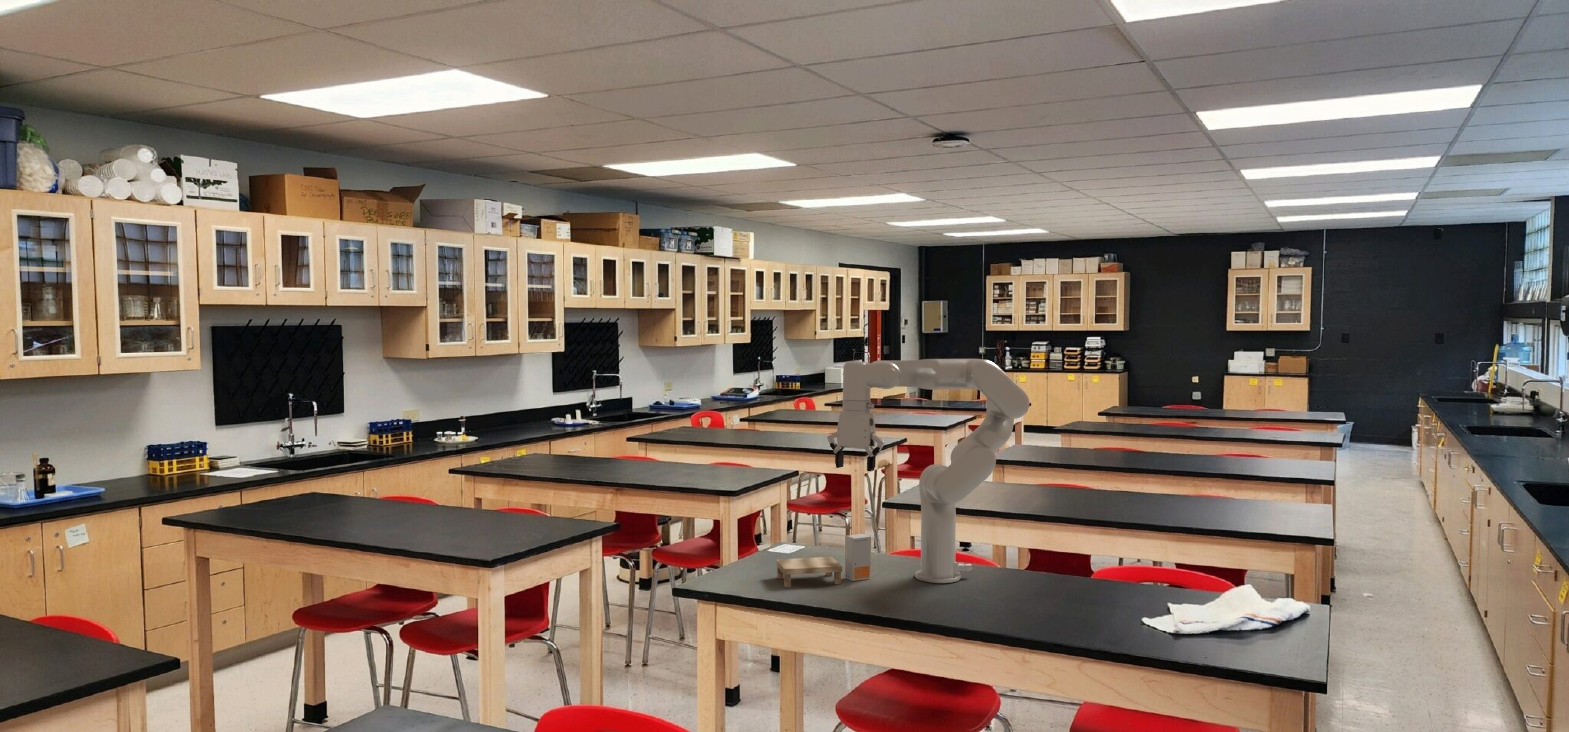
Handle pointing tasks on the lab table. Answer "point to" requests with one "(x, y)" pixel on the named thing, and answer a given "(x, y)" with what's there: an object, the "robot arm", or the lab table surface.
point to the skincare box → (857, 557)
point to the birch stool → (808, 568)
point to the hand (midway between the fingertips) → (854, 468)
